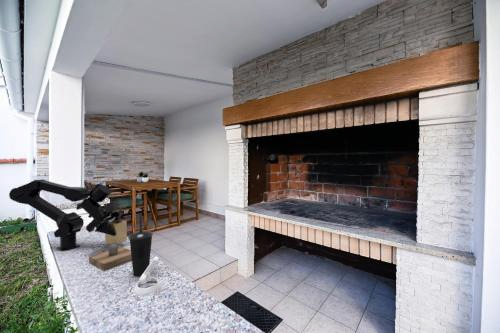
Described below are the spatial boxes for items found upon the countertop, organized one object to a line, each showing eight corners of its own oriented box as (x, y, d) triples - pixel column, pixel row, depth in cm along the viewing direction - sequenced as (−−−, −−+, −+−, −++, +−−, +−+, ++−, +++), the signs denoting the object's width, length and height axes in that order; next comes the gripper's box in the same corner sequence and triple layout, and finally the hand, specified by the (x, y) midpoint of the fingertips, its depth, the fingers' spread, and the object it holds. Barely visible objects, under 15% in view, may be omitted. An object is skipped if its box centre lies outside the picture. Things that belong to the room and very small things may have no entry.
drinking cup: (158, 270, 78) (157, 214, 78) (141, 280, 71) (140, 219, 70) (141, 266, 80) (141, 213, 80) (123, 277, 73) (122, 218, 73)
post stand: (89, 262, 84) (88, 246, 84) (121, 252, 94) (120, 237, 94) (104, 270, 77) (103, 252, 77) (136, 258, 88) (136, 242, 87)
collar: (105, 243, 97) (105, 223, 97) (114, 239, 103) (114, 220, 103) (118, 244, 97) (117, 224, 97) (126, 239, 103) (126, 220, 102)
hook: (170, 278, 63) (148, 267, 61) (148, 307, 64) (126, 297, 63) (176, 261, 70) (157, 251, 68) (156, 288, 71) (137, 278, 70)
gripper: (93, 200, 90) (120, 226, 91) (118, 193, 109) (141, 215, 109) (73, 219, 90) (101, 245, 90) (102, 209, 109) (125, 231, 109)
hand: (119, 232), depth 100 cm, fingers closed on collar, 6 cm apart
